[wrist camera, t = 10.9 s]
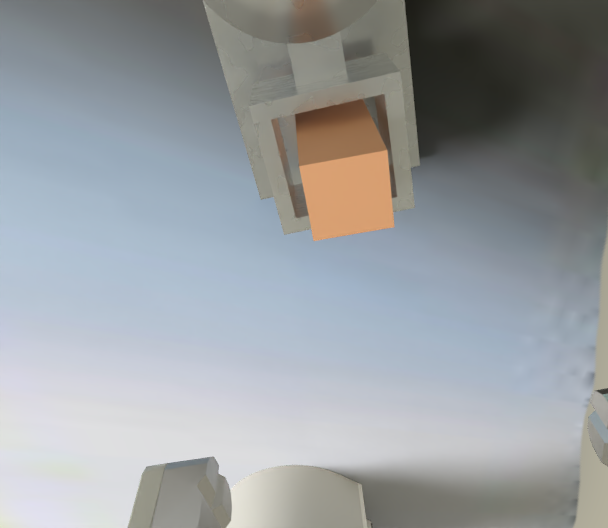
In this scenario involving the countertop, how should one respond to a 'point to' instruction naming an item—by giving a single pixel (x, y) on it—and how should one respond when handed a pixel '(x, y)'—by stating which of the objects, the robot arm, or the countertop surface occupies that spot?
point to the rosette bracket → (315, 84)
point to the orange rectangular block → (343, 170)
